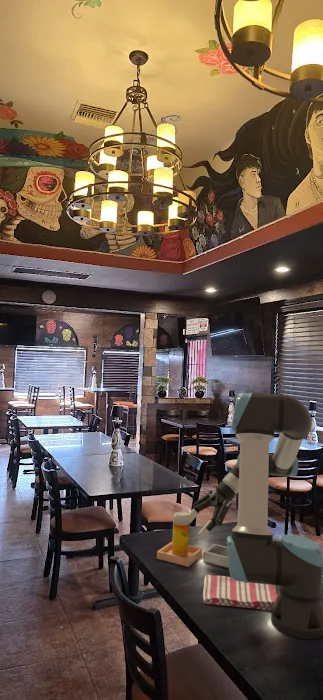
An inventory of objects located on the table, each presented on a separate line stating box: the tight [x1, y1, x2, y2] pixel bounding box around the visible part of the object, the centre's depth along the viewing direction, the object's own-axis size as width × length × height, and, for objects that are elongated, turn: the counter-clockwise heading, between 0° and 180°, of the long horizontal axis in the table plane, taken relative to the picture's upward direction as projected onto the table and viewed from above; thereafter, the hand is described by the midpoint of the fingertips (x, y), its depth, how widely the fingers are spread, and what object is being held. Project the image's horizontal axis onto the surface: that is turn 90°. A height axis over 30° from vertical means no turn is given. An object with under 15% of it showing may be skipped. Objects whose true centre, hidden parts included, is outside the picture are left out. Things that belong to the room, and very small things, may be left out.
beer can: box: [171, 511, 191, 557], centre depth 178 cm, size 6×6×15 cm
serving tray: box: [156, 541, 203, 568], centre depth 178 cm, size 13×13×2 cm
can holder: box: [202, 543, 229, 569], centre depth 177 cm, size 10×10×4 cm
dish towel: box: [202, 574, 278, 611], centre depth 151 cm, size 17×23×4 cm
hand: (192, 530), depth 180 cm, fingers open, 13 cm apart
